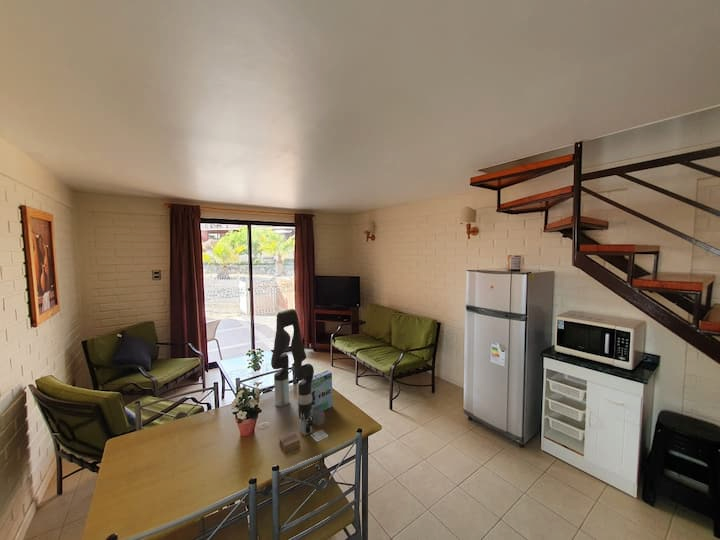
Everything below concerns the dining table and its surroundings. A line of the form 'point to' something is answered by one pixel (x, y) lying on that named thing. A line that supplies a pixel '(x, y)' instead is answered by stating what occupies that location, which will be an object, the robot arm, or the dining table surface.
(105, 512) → the dining table surface
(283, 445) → the walnut block
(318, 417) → the translucent grey cup
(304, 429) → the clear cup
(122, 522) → the dining table surface
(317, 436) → the swatch
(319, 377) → the gum box
